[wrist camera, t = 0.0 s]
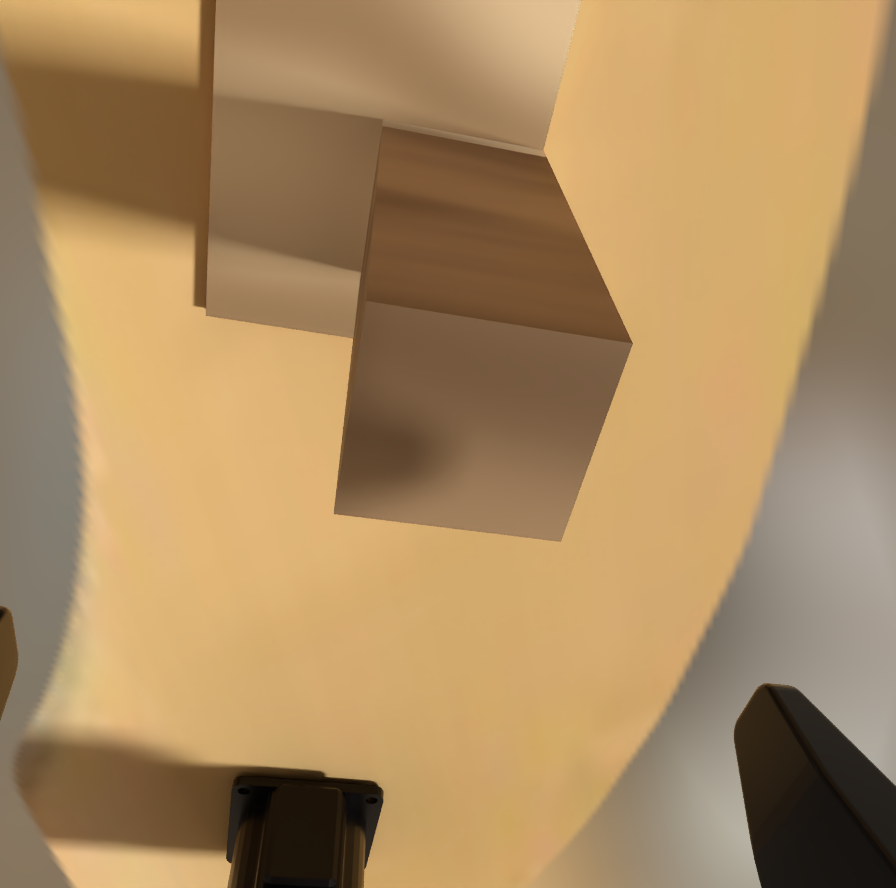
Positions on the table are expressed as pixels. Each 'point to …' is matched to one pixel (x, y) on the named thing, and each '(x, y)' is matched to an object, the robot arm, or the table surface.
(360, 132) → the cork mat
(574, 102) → the table surface
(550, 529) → the walnut block
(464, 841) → the table surface
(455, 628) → the table surface
